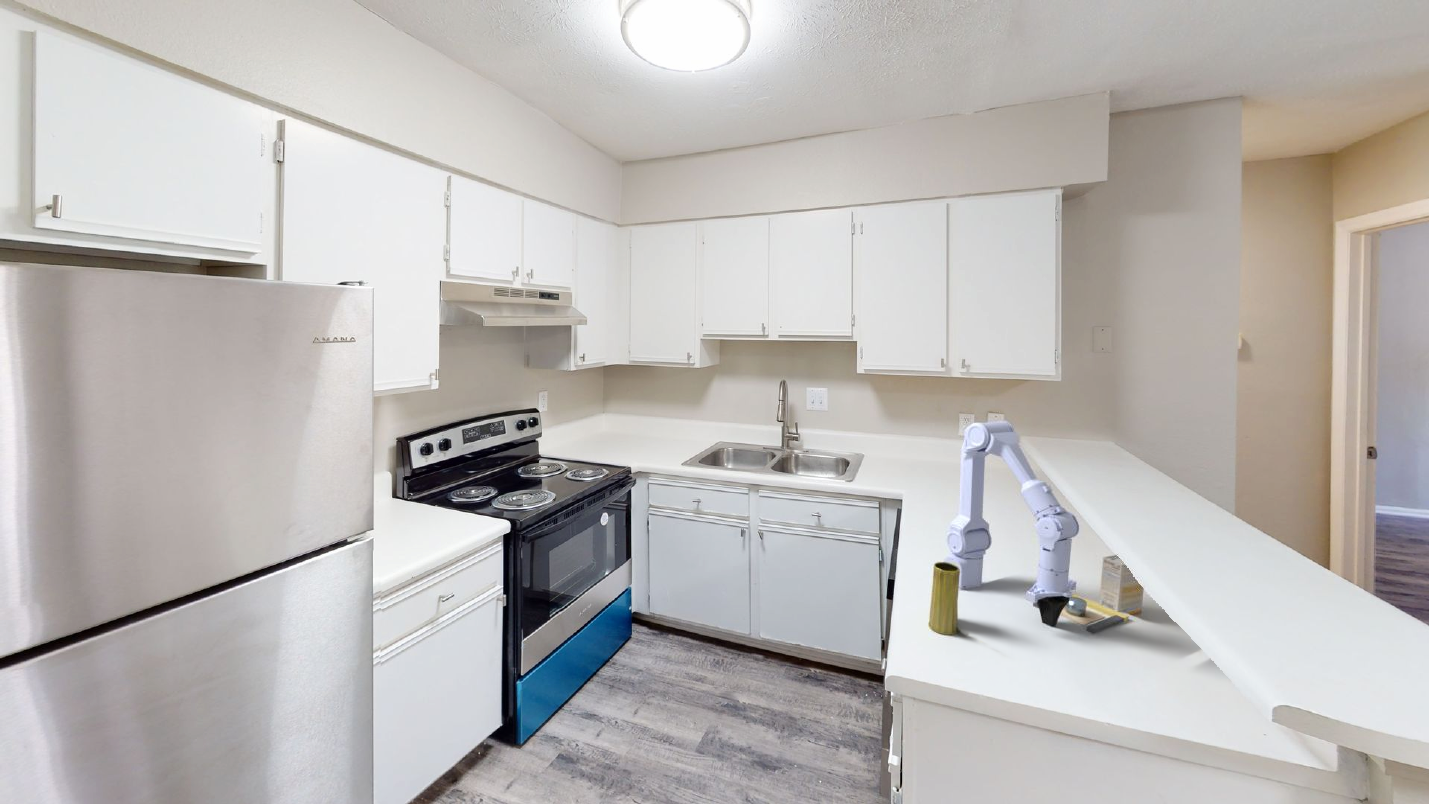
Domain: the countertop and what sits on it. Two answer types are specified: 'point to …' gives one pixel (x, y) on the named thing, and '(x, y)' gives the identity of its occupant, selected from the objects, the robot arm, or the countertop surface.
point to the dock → (1106, 623)
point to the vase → (944, 598)
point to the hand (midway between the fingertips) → (1048, 625)
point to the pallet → (1084, 620)
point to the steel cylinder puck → (1076, 607)
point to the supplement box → (1119, 587)
